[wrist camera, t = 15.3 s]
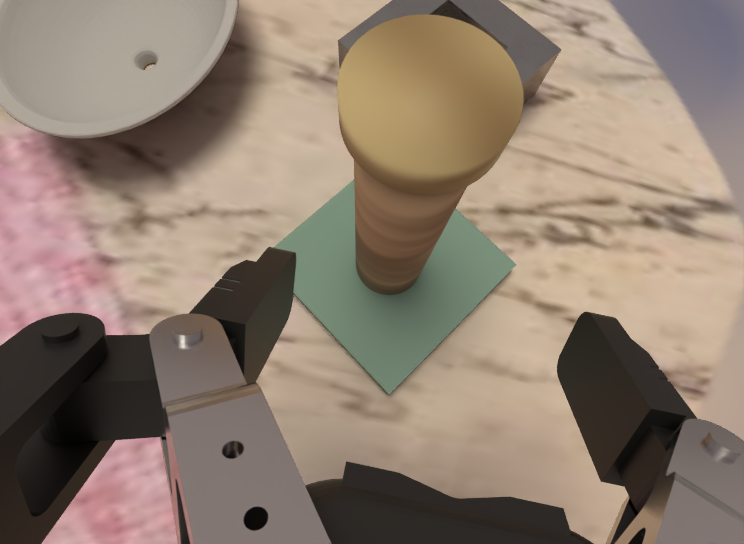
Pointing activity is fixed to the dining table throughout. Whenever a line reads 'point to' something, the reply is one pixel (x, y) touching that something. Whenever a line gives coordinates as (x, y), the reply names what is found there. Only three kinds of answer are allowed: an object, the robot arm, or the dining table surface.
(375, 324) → the mat
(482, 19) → the grey square socket block
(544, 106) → the dining table surface
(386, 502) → the robot arm
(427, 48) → the peg
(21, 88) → the dish
